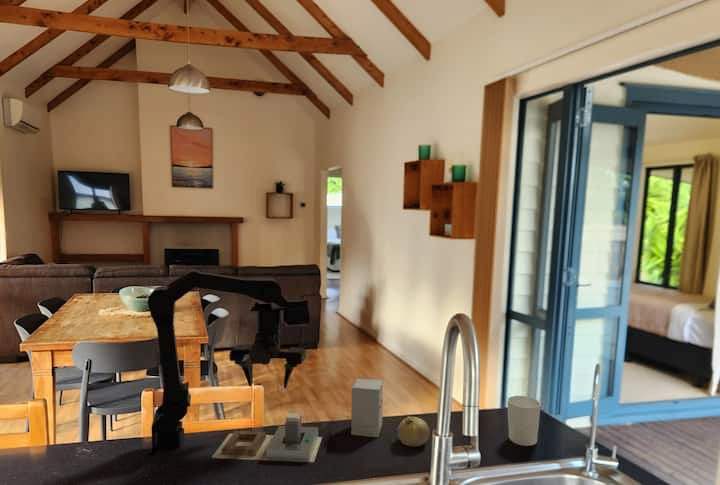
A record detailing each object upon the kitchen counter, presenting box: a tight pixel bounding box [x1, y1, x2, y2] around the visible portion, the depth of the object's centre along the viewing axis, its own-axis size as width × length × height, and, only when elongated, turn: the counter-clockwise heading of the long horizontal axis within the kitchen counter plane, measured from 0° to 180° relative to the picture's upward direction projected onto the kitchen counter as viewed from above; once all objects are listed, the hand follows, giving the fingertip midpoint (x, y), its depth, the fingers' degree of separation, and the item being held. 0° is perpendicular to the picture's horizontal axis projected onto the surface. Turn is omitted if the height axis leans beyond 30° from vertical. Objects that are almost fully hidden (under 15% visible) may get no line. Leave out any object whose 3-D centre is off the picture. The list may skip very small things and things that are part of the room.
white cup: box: [507, 395, 541, 447], centre depth 119 cm, size 8×8×10 cm
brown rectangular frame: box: [222, 430, 267, 456], centre depth 114 cm, size 8×9×2 cm
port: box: [265, 425, 319, 463], centre depth 113 cm, size 10×12×3 cm
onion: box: [397, 415, 430, 448], centre depth 118 cm, size 8×8×7 cm
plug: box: [284, 412, 302, 444], centre depth 113 cm, size 3×4×8 cm, turn 176°
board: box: [210, 433, 323, 463], centre depth 113 cm, size 24×12×1 cm, turn 86°
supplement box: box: [350, 378, 384, 438], centre depth 124 cm, size 7×7×13 cm
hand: (267, 386), depth 121 cm, fingers open, 9 cm apart
